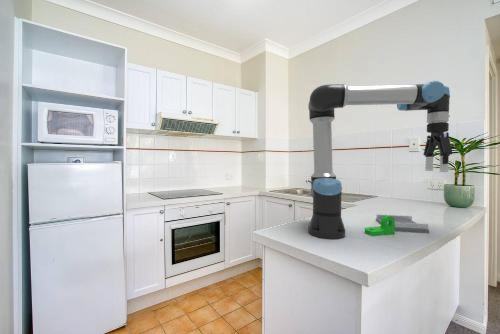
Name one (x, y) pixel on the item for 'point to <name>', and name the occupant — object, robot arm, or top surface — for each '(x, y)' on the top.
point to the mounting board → (406, 228)
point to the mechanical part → (382, 227)
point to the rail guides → (405, 225)
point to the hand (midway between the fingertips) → (436, 171)
